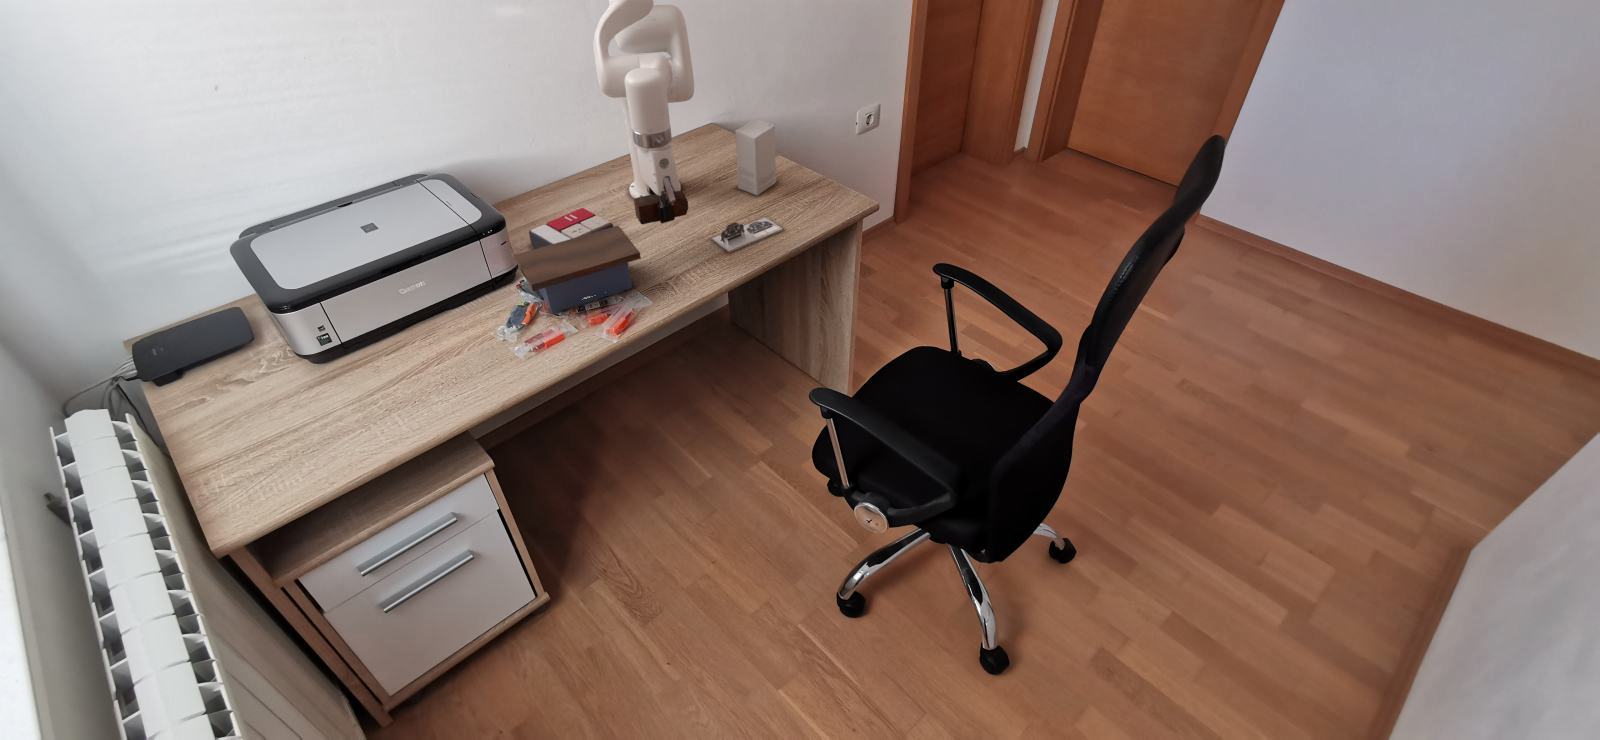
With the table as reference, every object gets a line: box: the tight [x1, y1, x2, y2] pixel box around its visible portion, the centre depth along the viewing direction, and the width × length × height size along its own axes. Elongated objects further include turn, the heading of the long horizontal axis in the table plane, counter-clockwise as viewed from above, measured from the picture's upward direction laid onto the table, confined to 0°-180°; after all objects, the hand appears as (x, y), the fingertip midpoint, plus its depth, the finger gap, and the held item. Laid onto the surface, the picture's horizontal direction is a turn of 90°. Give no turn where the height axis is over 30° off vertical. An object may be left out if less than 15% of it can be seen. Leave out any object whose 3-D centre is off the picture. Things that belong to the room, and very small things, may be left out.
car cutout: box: [712, 216, 783, 253], centre depth 169 cm, size 15×7×4 cm, turn 129°
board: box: [513, 225, 642, 292], centre depth 150 cm, size 12×22×2 cm, turn 121°
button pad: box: [528, 207, 614, 249], centre depth 167 cm, size 11×4×15 cm
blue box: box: [538, 262, 633, 314], centre depth 153 cm, size 10×17×7 cm, turn 121°
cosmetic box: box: [734, 118, 777, 196], centre depth 183 cm, size 8×7×16 cm
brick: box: [633, 190, 689, 225], centre depth 158 cm, size 11×4×5 cm, turn 116°
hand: (662, 214), depth 159 cm, fingers closed on brick, 4 cm apart
